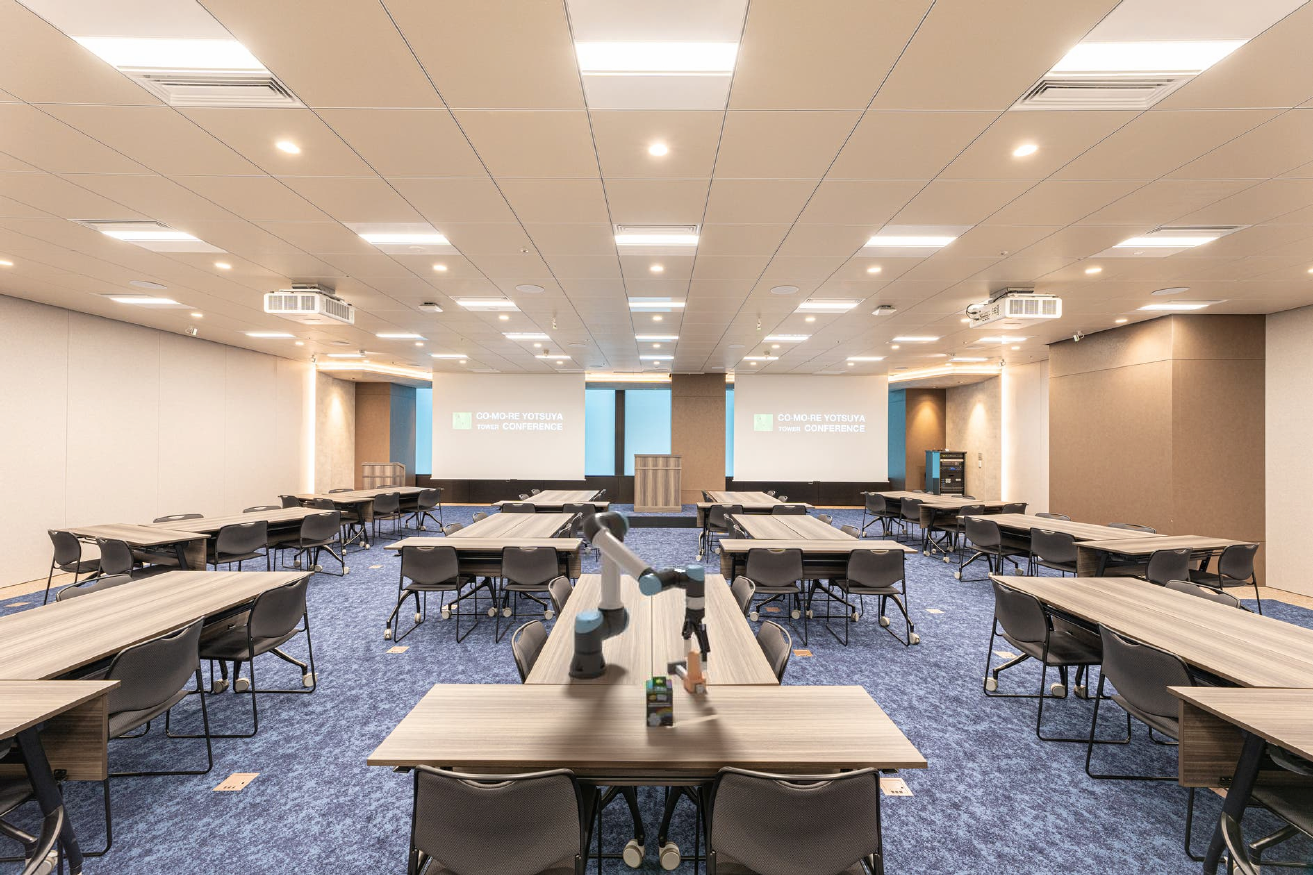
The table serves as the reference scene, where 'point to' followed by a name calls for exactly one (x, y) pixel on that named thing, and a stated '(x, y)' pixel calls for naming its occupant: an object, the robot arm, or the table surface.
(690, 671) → the slider
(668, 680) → the chalk box
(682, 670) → the rail
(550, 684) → the table surface
